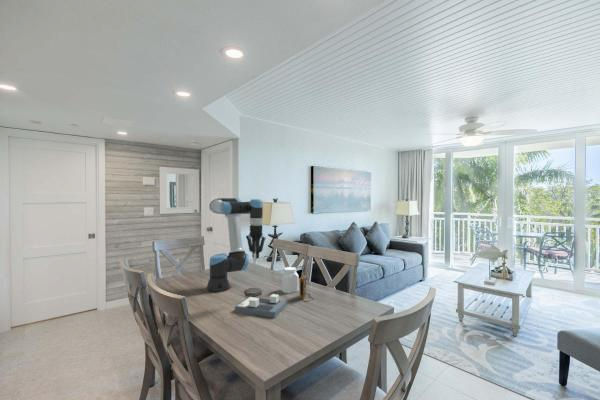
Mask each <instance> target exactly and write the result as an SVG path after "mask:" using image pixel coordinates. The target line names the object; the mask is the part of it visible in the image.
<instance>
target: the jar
mask: <svg viewBox="0 0 600 400" xmlns="http://www.w3.org/2000/svg"><path fill="white" fill-rule="evenodd" d="M299 291H300V287H299V274H298V273H297V268H296V267H294V266H287V267H284V269H283V273H282V274H281V292H283V293H285V294H292V293H297V292H299Z"/></svg>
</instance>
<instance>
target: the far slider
mask: <svg viewBox="0 0 600 400" xmlns="http://www.w3.org/2000/svg"><path fill="white" fill-rule="evenodd" d="M269 299H270V303H277V302H278V301H280V295H279V294H275V293H272V294H271V295H269Z"/></svg>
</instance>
